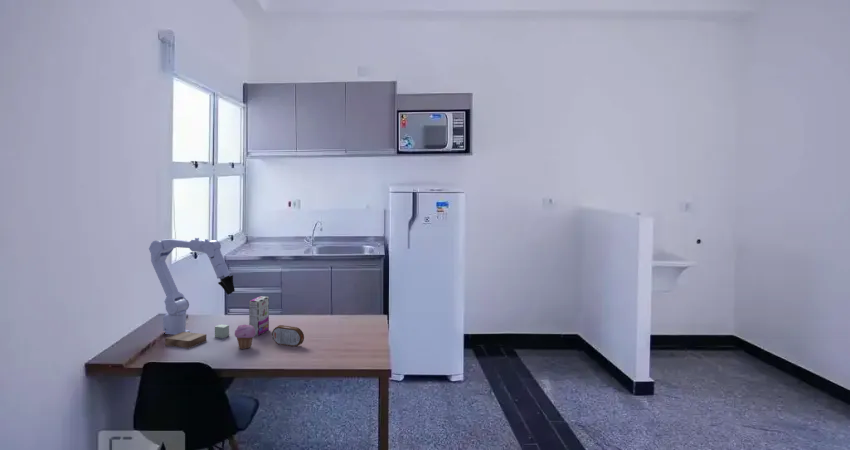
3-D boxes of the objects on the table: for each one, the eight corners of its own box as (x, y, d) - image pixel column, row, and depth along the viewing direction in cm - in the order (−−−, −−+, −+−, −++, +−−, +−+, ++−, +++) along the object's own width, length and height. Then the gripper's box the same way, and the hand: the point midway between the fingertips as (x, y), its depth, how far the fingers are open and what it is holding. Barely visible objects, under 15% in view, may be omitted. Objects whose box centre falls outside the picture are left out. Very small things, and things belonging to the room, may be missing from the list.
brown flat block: (165, 345, 264) (165, 338, 263) (182, 338, 275) (182, 331, 275) (189, 348, 261) (189, 341, 260) (206, 340, 272) (206, 334, 272)
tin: (304, 346, 269) (304, 327, 269) (300, 348, 266) (300, 329, 266) (274, 342, 274) (275, 323, 273) (270, 344, 271) (271, 325, 270)
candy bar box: (259, 329, 295) (259, 295, 294) (269, 330, 294) (269, 296, 293) (248, 335, 284) (248, 300, 283) (258, 336, 283) (258, 301, 282)
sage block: (214, 337, 279) (214, 326, 278) (220, 334, 283) (220, 324, 283) (223, 338, 278) (223, 327, 277) (229, 335, 282) (229, 325, 282)
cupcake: (233, 345, 267) (234, 322, 266) (254, 344, 270) (254, 321, 269) (235, 351, 259) (235, 327, 258) (256, 349, 262) (256, 326, 261)
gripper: (230, 259, 272) (242, 287, 272) (225, 264, 285) (237, 291, 285) (214, 265, 269) (226, 294, 269) (211, 270, 282) (222, 297, 282)
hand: (231, 293), depth 277 cm, fingers open, 7 cm apart
